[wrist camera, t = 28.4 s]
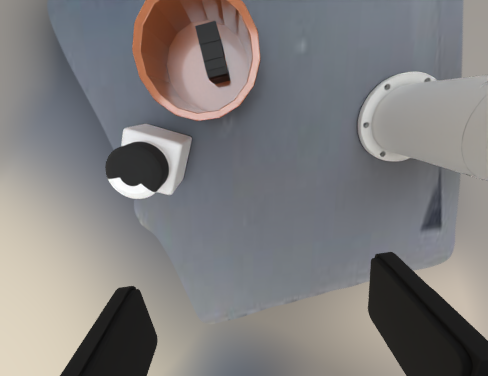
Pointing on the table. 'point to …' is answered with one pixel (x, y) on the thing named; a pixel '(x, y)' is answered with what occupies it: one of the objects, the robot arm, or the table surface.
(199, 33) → the ink cartridge
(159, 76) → the terracotta pot
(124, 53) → the table surface
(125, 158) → the medicine bottle
